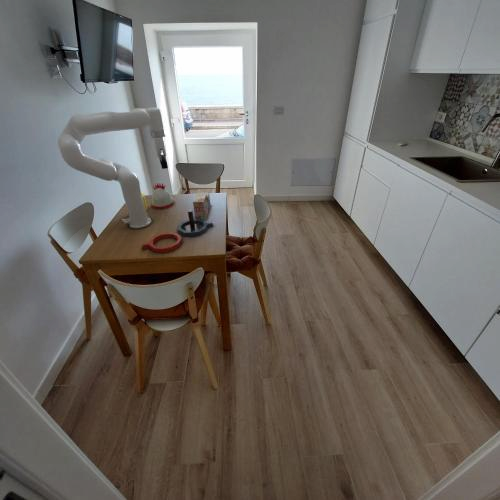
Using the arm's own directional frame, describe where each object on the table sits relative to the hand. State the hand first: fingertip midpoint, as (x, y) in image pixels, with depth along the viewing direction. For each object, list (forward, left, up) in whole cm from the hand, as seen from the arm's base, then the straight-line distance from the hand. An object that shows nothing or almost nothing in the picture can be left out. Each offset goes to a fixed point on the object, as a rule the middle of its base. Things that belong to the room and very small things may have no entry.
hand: (164, 166), depth 154 cm
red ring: (-10, -34, -30) cm, 47 cm away
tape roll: (-20, +15, -31) cm, 39 cm away
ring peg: (+8, -24, -30) cm, 39 cm away
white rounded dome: (-5, +18, -31) cm, 36 cm away
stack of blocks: (+18, -5, -31) cm, 36 cm away
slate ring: (+10, -24, -30) cm, 40 cm away
